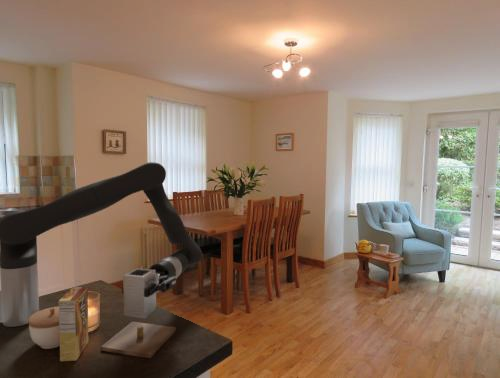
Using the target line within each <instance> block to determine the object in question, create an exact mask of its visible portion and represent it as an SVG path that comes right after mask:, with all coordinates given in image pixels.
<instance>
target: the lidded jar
mask: <svg viewBox="0 0 500 378" xmlns="http://www.w3.org/2000/svg"><path fill="white" fill-rule="evenodd" d="M27 325H28V329H29V335H30V338H31V340H32V341H33V342H34V344H36V345H38V347H40V348H41V349H44V350H49V349H50V350H51V349H55V348H58V347H60V332H59V305H57V306H51V307H47V308H44V309H40V310H39V311H38V312H36V313H34V314H33V315H31V316H30V318H29V319H28V324H27Z"/></svg>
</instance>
